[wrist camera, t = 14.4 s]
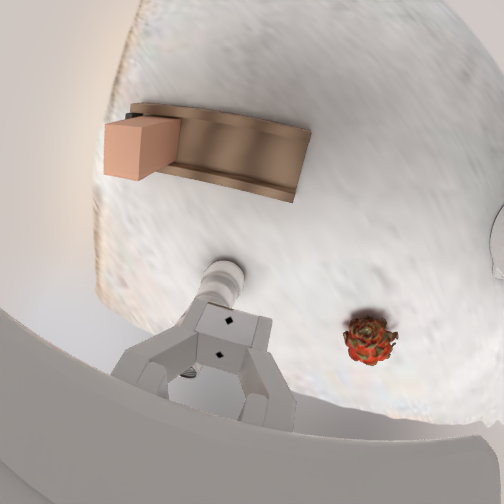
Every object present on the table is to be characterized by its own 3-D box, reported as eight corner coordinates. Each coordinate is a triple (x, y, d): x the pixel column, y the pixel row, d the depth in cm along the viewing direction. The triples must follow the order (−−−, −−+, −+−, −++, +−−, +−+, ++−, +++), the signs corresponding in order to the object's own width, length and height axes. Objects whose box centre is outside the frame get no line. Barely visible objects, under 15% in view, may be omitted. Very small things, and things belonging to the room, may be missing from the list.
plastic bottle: (255, 279, 46) (223, 382, 29) (223, 293, 49) (182, 389, 32) (231, 248, 44) (184, 346, 27) (200, 265, 46) (146, 357, 30)
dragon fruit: (351, 298, 46) (382, 327, 50) (322, 338, 45) (357, 362, 50) (385, 313, 38) (412, 342, 43) (353, 360, 37) (386, 382, 42)
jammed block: (181, 118, 33) (141, 127, 25) (176, 160, 37) (138, 181, 28) (149, 114, 34) (105, 124, 25) (145, 154, 37) (103, 174, 28)
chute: (310, 130, 33) (311, 134, 29) (293, 195, 38) (292, 206, 34) (142, 102, 34) (126, 104, 31) (136, 161, 39) (122, 168, 36)
